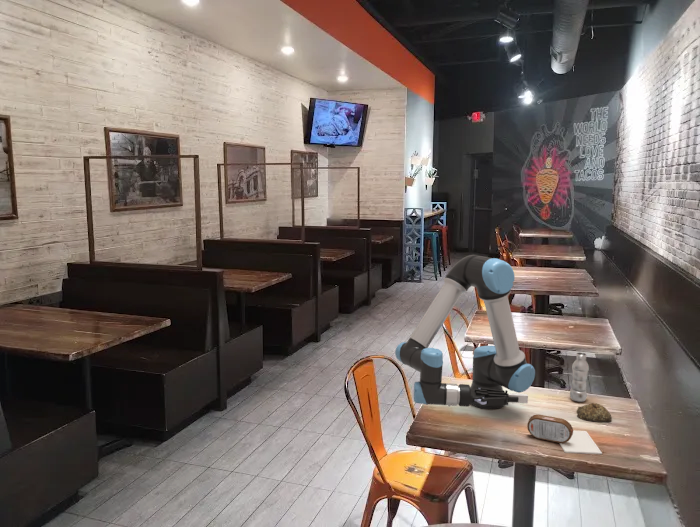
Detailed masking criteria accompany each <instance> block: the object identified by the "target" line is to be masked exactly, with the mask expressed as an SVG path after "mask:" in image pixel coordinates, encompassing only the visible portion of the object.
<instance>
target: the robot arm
mask: <svg viewBox="0 0 700 527" xmlns="http://www.w3.org/2000/svg"><path fill="white" fill-rule="evenodd" d="M443 282H444V284H443V285H442V287H441V288H440V289H439V291H438V293H437V295H436V296H435V298H434V299H433V301H432V302H431V303H430V305H429V307H428V308H427V310H426V312H425V313H424V315H423V316H422V318H421V319H420V321H419V322H418V323H417V326H416V327H415V329H414V330H413V332H412V334H411V335H410V336H409V338H408V340H407V341H403V342H400V343H399V344H398V345H397V346H396V347H395V353H394V354H395V358H396V359H397V361H399V362H401V363H402V365H406V366H408V367H409V368H411V369H414V370H415V371H417V372H418V373H419V374H420V375H419V381H415V382H414V383H413V401H414V403H416V404H422V405H432V406H433V405H435V406H436V405H437V406H438V405H439V406H448V407H451V406H454V407H457V406H459V407H468V408H469V407H470V405H471V406H473V407H475V408H478V409H484V410H497V409H501V408H503V407H505V406H509V403H512V404H514V403H515V404H528V401H529V395H528V394H527V393H526V394H525V393H523V392H526V391H527V390H528V389H529V388H530V387H531V386H532V384H533V383H534V380H535V377H536V369H535V367H534V366H533V365H532V364H531V363H527V359H526V354H525V352H524V351H523V350H521V349H520V347H519V342H518V337H517V333H516V328H515V324H514V320H513V315H512V310H511V307H510V302H509V295H510V294H511V291H512V290H511V289H512V288H513V287H514V282H515V272H514V270H513V267H512V266H511V264H509V263H508V262H507V261H505V260H502V259H499V258H495V257H493V258H492V257H488V256H482V255H479V254H469V255H467V256H465V257H462V258H461V259H460V260H458V261H457V262H456V263H455V264H454V265H453V266H452V267H451V269H450V270H449V271H448V272H447V274H446V275H445V277H444V278H443ZM471 287H474V288H476V292H477V295H478V296H477V297H478V298H479V299H480V300H481V301H483V303H484V306H485V310H486V315H487V319H488V323H489V327H490V328H489V329H490V332H491V335H492V336H491V337H492V340H493V345H482V346H478V347H476V348H475V349H474V351H473V356H472V381H471V382H472V383H471V385H470V384H465V383H464V384H463V383H460V384H458V383H449V382H446V383H445V382H444V383H443V382H442V380H443V379H442V377H443V365H444V361H443V359H444V358H443V354H444V353H443V351H442V350H441V349H439V348H435V347H429V346H430V345H431V343H432V342H433V339H435V337H436V335H437V334H438V333H439V330H440V329H441V327H442V326H443V324H444V323H445V321H446V319H447V318H448V317H449V315H450V313H451V311H452V310H453V309H454V307H455V305H456V304H457V302H458V301H459V300H460V298H461V296H462V295H463V294H466V293H467V291H468V290H469V288H471ZM504 388H505V389H508V390H509V391H512V392H515V393H510V392H509V393H508V390H504Z"/></svg>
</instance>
